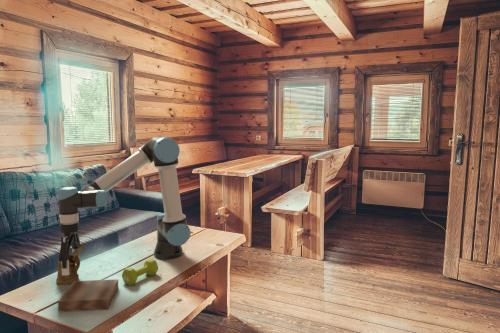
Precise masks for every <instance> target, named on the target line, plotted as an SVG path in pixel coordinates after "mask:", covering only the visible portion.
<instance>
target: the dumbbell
mask: <svg viewBox="0 0 500 333" xmlns="http://www.w3.org/2000/svg"><path fill="white" fill-rule="evenodd" d="M158 271H159V265H158V263H157V261H156V260H155V259H153V258H148V259H146V260H145V261H144V263H143V266H142V267H139V268H137V269H134V268H133V267H125V268H123V271H122V273H121V277H122V281H123V282H124V284H125V285H127V286H133V285H135V284H136V283H137V280H138V278H139V277H141V276H143V275H145V274H146V275H148V276H153V277H154V275H156V274H157V272H158Z"/></svg>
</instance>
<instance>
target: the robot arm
mask: <svg viewBox="0 0 500 333" xmlns="http://www.w3.org/2000/svg"><path fill="white" fill-rule="evenodd" d="M180 152H181V150H180V146H179V143H178V142H177V141H175V139H173V138H172V137H169V136H163V135H158V136H154V137H152V138H151V139H149V140H148V141H147V142H145V143H143V145H141V146H140V147H138V148H137V151H135V153H133V154H131V155H130V156H129V157H128V158H126V159H124V160H123V161H122V162H120V163H119V164H117V165H116V166H114V167H112V169H110V170H108V171H107V172H105V173H104V174H102V175H101V176H100V177H98V178H97V179H95V180H94V181H91V183H89V184H86V185H84V186H82V188H81V190H79V191H78V188H77V187H75V186H66V187H65V186H64V187H60V188H59V190H58V212H59V215H58V216H57V217H58V218H59V232H60V233H62V234H64V235H63V237H61V239H60V247H59V248H60V249H59V251H60V252H59V258H58V261H61V264H62V275H69V260H68V256H69V255H70V250H71V247H72V252H71V253H72V254H73V252H74V251H75V250H76V249H77V248H78V247H79V246H81V245H82V244H81V241H80V237H79V230H80V224H79V223H80V222H79V221H80V220H79V218H80V217H79V209H89V208H100V207H101V208H102V207H105V206H107V204H108V194H107V192H108V191H110V190H112V188H114V187H116V186H117V185H118V184H120V183H121V182H123V181H124V180H126V179H127V178H128V177H129V176H131V175H133V174H134V173H136V172H137V171H138V170H140V169H141V168H143V167H144V166H146V165H148V164H152V163H153V166H154V168H156V169H157V170H158V177H159V183H160V184H159V186H160V191H161V196H162V197H161V198H162V199H161V200H162V205H163V206H162V207H163V211H164V212H162V213H159V214H157V216H156V217H157V218H156V235H157V236H156V240H157V241H156V244H155V247H154V251H153V256H154V258H155V259H158V260H174V259H178V258H180V257H182V256H183V252H184V250H183V247H182V246H183V245H185V244H186V243H187V242H188V241H189V239H190V237H191V233H192V231H191V228H190V226H189V225H188V220H187V216H186V214H184V213H183V208H182V201H181V194H180V187H179V180H178V173H177V172H178V171H177V167H178V165H179V158H178V157H179V156H180ZM72 254H71V255H72ZM78 257H79V258H80V254H79V255H78Z"/></svg>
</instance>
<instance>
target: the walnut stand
mask: <svg viewBox="0 0 500 333" xmlns="http://www.w3.org/2000/svg"><path fill="white" fill-rule="evenodd" d="M118 289H119V279H94V280H93V279H92V280H89V279H88V280H77V281H74V282H73V283H71V284H70V285H69V287H68V288H67V289H66V291H65V292H64V293H63V294H62V295H61V297H60V298H59V299H58V300H57V306H58V307H57V309H58V312H59V313H60V312H75V311H97V310H98V311H99V310H109V307H110V306H111V304H112V302H113V300H114V298H115V296H116V294H117V292H118Z"/></svg>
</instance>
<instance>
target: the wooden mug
mask: <svg viewBox="0 0 500 333" xmlns="http://www.w3.org/2000/svg"><path fill="white" fill-rule="evenodd" d="M83 250H85V244H84V243H82V244H81V245H80V246H79V247H78V248H77V249H76V250H75V251H74V252H73V254H69V256H68V260H69V275H62V264H61V261H59V260H58V261H57V264H58V266H57V276H56V280H55V281H56V283H55V284H57V285H61V286H65V285H71V284H72V283H73V282H74V281H79V279H80V277H79V276H80V275H79V274H78V271H79V268H80V266H81V261H80V254H81V253H82V252H83ZM78 255H79V257H78Z"/></svg>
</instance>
